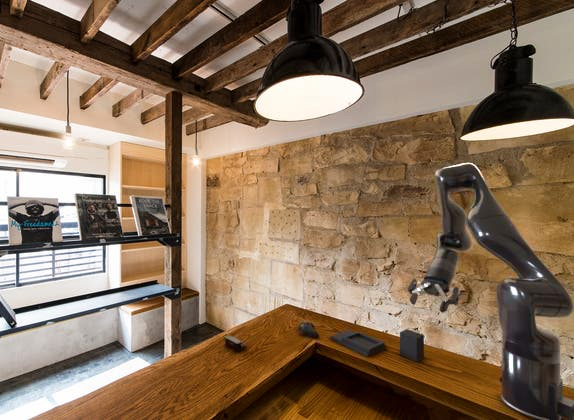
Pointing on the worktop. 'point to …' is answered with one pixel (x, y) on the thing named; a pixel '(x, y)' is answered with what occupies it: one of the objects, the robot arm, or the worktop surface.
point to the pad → (359, 342)
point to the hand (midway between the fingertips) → (426, 307)
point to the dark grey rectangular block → (412, 345)
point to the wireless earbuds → (234, 343)
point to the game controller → (308, 329)
